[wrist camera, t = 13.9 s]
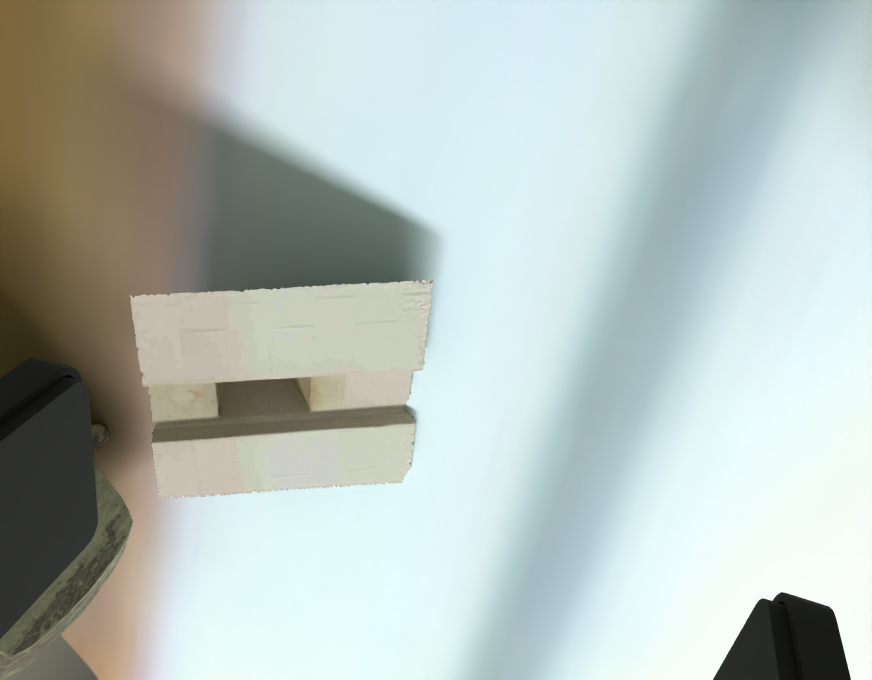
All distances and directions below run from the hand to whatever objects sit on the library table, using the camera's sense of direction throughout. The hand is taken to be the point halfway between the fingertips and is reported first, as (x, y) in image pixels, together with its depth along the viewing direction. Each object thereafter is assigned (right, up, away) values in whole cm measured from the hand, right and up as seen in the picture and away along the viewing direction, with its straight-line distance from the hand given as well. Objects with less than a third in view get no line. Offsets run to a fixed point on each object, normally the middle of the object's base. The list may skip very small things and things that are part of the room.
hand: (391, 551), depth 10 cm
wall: (-6, +2, +37) cm, 38 cm away
